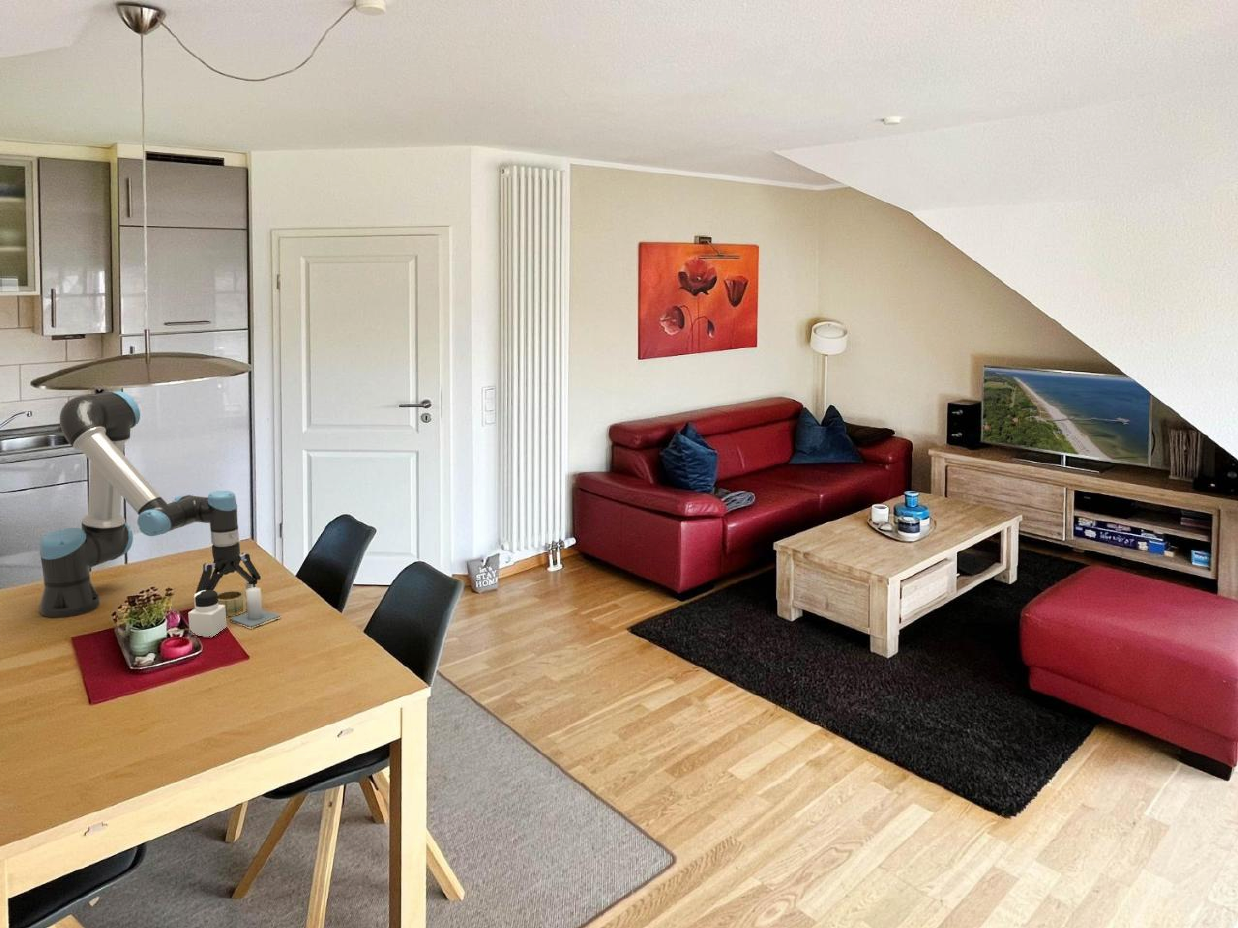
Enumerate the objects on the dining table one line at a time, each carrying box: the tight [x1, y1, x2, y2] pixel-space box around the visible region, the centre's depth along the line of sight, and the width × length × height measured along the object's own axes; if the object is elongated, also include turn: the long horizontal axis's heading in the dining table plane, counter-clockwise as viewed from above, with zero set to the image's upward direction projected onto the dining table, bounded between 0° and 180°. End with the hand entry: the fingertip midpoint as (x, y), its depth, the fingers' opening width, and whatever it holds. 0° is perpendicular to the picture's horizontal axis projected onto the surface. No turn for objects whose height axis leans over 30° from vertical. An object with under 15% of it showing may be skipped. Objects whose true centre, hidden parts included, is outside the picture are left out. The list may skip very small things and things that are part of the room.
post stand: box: [229, 586, 282, 628], centre depth 257 cm, size 10×10×10 cm
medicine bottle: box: [187, 590, 228, 638], centre depth 248 cm, size 7×7×12 cm
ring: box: [217, 589, 247, 618], centre depth 264 cm, size 9×9×5 cm
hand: (230, 610), depth 264 cm, fingers open, 13 cm apart
